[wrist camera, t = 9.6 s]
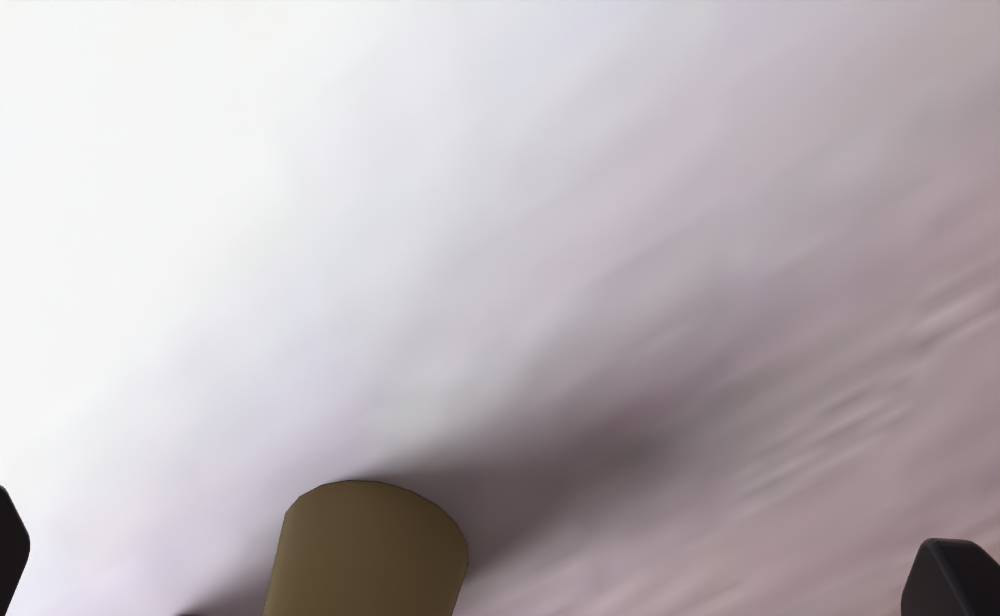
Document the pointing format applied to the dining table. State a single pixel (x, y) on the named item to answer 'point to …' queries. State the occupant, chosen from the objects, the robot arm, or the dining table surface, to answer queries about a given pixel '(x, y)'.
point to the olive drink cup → (366, 555)
